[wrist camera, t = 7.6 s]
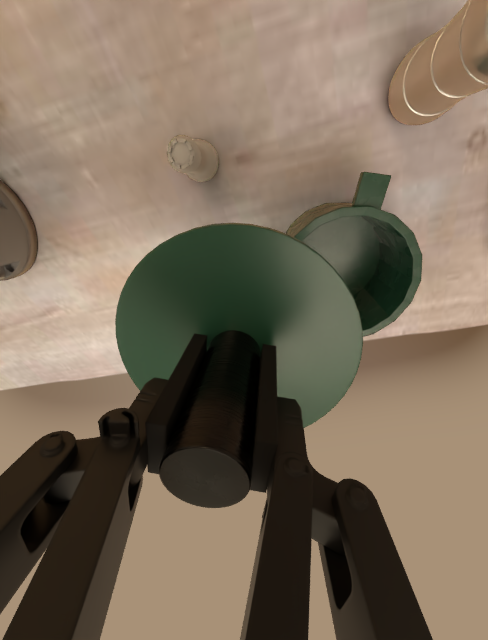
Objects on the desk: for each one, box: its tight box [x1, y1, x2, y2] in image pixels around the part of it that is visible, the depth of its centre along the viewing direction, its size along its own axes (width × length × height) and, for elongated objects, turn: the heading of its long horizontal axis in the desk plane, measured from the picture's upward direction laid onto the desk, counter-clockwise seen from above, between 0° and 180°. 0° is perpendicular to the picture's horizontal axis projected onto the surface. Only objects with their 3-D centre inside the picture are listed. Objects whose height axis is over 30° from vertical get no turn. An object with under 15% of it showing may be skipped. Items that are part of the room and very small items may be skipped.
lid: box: [116, 223, 363, 508], centre depth 13 cm, size 15×15×9 cm
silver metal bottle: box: [388, 0, 488, 125], centre depth 19 cm, size 6×7×20 cm
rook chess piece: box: [167, 135, 219, 182], centre depth 29 cm, size 4×4×8 cm
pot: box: [286, 172, 422, 337], centre depth 32 cm, size 14×19×10 cm
